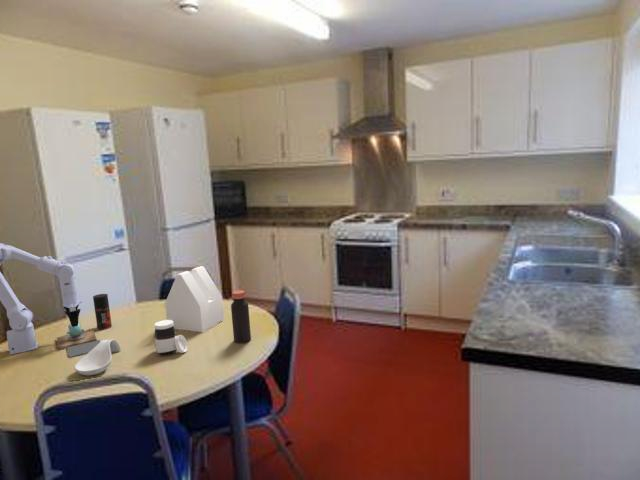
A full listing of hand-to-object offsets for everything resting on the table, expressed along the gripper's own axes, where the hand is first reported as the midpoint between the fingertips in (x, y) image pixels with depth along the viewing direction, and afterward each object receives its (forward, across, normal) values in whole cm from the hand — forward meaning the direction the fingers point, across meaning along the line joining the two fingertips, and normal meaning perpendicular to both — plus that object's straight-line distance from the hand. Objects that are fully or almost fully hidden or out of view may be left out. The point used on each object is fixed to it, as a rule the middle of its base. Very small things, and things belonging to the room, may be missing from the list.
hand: (74, 323), depth 188 cm
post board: (+8, 0, 0) cm, 8 cm away
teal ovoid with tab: (+4, 0, 0) cm, 5 cm away
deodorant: (+8, +10, -12) cm, 17 cm away
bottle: (+8, -46, -56) cm, 73 cm away
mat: (+8, -13, -2) cm, 15 cm away
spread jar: (+8, -39, -30) cm, 50 cm away
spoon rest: (+8, -34, -6) cm, 35 cm away
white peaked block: (+8, -14, -47) cm, 50 cm away
